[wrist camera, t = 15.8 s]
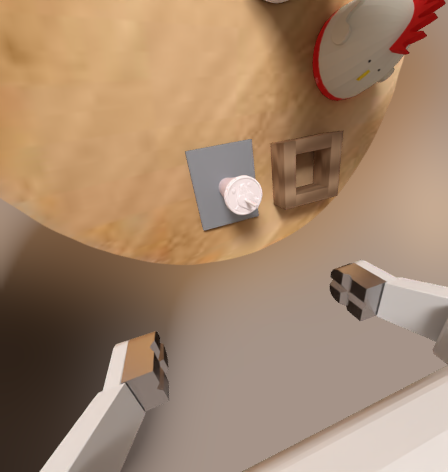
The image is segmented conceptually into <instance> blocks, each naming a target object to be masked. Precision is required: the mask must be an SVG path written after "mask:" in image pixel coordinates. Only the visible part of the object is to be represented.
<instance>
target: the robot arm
mask: <svg viewBox="0 0 448 472" xmlns="http://www.w3.org/2000/svg"><path fill="white" fill-rule="evenodd" d="M265 1H268V2H271V3H282V2H285V1H288V0H265ZM331 278H332V279H333V280H332V282H331V283H330V292H331V294H332V296H333V298H334V299H335V300H336V301H337V302H338V303H340V304H343V305H346V307H347V310H348V311H349V312H350V313H351V314H352V315H353V316H355V317H356V318H357V319H358V320H359V321H362V320H365V319H367V318H370V317H373V316H376V315H377V317H380V318H382V319H384V320H387V321H389V322H392V323H394V324H396V325H399V326H401V327H403V328H405V329H408V330H410V331H413V332H415V333H417V334H419V335H422V336H424V337H426V338H429V339H431V340H434V341H436V344H435V346H434V348H433V353H434V354H435V355H436V356H437V357H439V358H440V359H441V360H443V361H444V362H445V363H446V364H448V287H445V286H440V285H435V284H430V283H425V282H421V281H416V280H411V279H407V278H402V277H399V278H396V277H394V276H392V275H391V274H389V273H387V272H385V271H383V270H381V269H380V268H378V267H376V266H374V265H372V264H370V263H368V262H367V261H364V260H359V261H356V262H353V263H351V264H347V265H344V266H342V267H339V268H336V269H333V271H332V272H331ZM167 371H168V358H167V352H166V349H165V347H164V345H163V344H161V343H160V336H159V334H158V332H157V331H155V332H152V333H149V334H146V335H143V336H140V337H137V338H134V339H130V340H128V341H125V342H122V343H119V344H116V345H115V347H114V349H113V352H112V356H111V360H110V364H109V368H108V373H107V376H106V380H105V384H104V388H103V391H102V392H99V393H98V394H97V395H96V397H95V398H94V399H93V400H92V402H91V403H90V404H89V406H88V407H87V409H86V410H85V411H84V413H83V414H82V415H81V417H80V418H79V419H78V421H77V422H76V423H75V425H74V426H73V427H72V429H71V430H70V432H69V433H68V434H67V436H66V437H65V438H64V440H63V441H62V442H61V444H60V445H59V447H58V448H57V449H56V450H55V452H54V453H53V454H52V456H51V457H50V459H49V460H48V461H47V463H46V464H45V465H44V467H43V468H42V469H41V471H40V472H120V471H121V468H122V466H123V464H124V462H125V459H126V457H127V455H128V452H129V450H130V447H131V445H132V443H133V441H134V439H135V436H136V434H137V432H138V429H139V427H140V425H141V423H142V420H143V418H144V416H145V411H147V410H150V409H152V408H154V407H157V406H159V405H161V404H163V403H165V402H168V401H169V381H168V379H167V377H166V373H167ZM242 472H448V365H447V366H445V367H443V368H442V369H440V370H437V371H436V372H434V373H432V374H430V375H428V376H426V377H424V378H422V379H420V380H418V381H416V382H414V383H412V384H411V385H408V386H407V387H405V388H403V389H401V390H399V391H397V392H395V393H393V394H391V395H389V396H387V397H385V398H383V399H381V400H379V401H378V402H376V403H374V404H372V405H370V406H368V407H366V408H364V409H362V410H360V411H358V412H356V413H354V414H352V415H350V416H348V417H347V418H345V419H343V420H341V421H339V422H337V423H335V424H333V425H332V426H329V427H327V428H325V429H324V430H322V431H320V432H318V433H316V434H314V435H312V436H310V437H308V438H306V439H304V440H302V441H300V442H298V443H296V444H294V445H293V446H290V447H289V448H287V449H285V450H283V451H281V452H279V453H277V454H275V455H273V456H271V457H269V458H267V459H265V460H263V461H261V462H260V463H258V464H256V465H254V466H252V467H250V468H248V469H246V470H244V471H242Z"/></svg>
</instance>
